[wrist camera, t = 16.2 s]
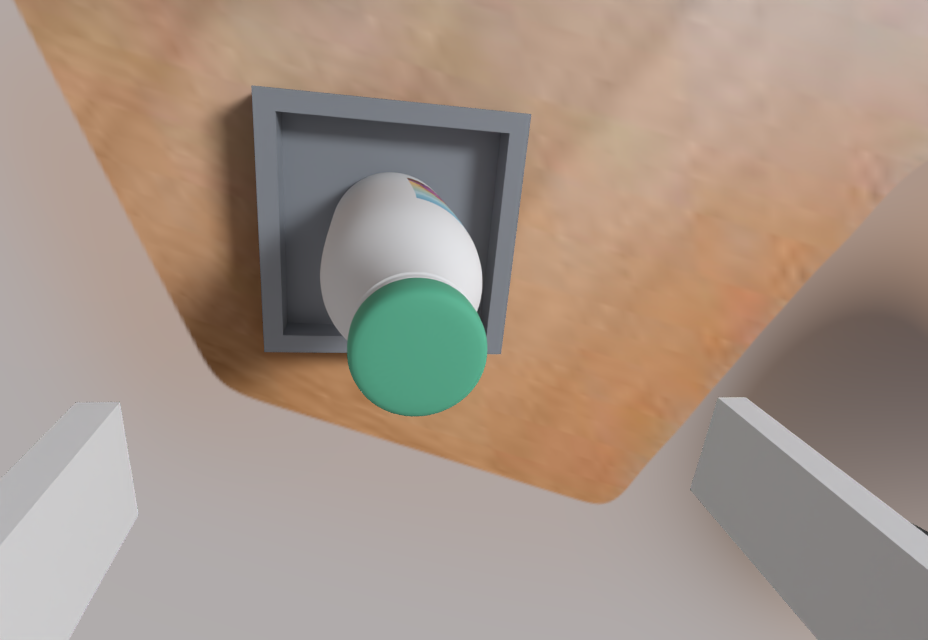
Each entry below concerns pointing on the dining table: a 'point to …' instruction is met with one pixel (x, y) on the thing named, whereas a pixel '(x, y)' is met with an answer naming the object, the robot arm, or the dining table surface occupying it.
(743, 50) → the dining table surface
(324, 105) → the tray
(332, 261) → the milk bottle
